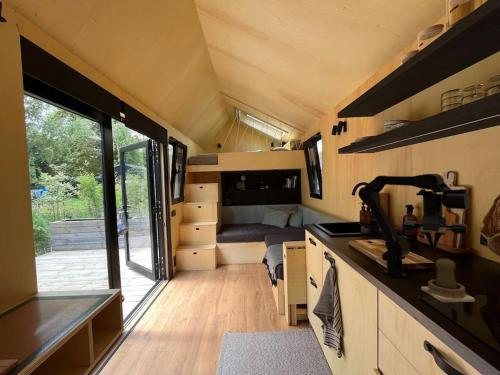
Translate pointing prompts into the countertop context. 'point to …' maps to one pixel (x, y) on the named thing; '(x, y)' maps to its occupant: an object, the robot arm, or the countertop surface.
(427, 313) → the countertop surface
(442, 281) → the cork
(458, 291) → the shaker holder
